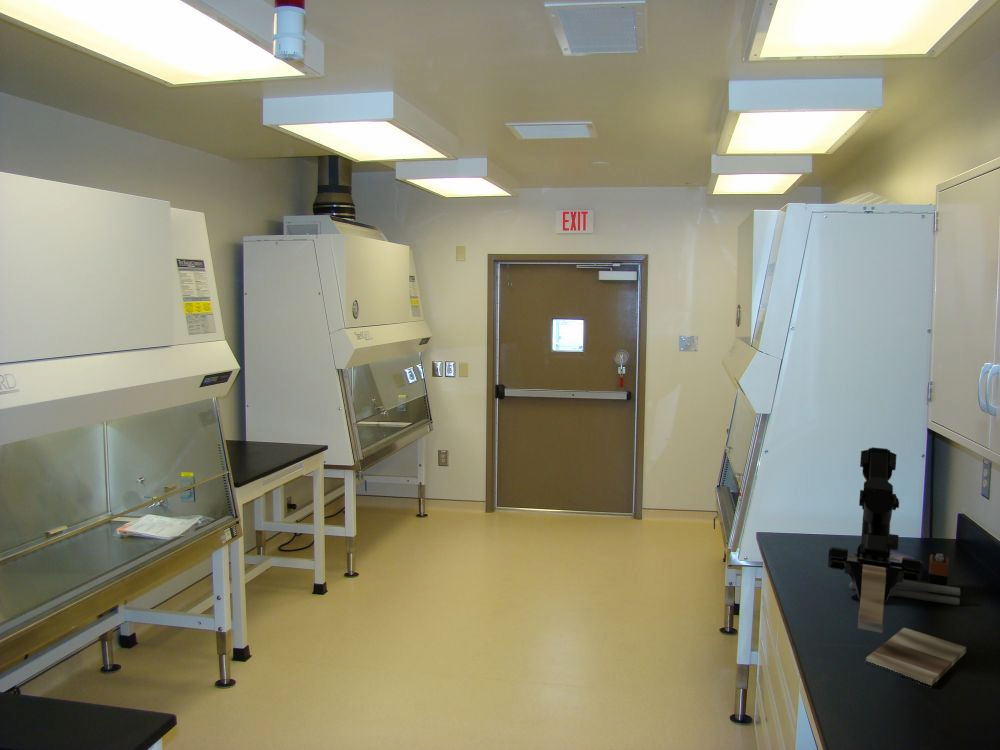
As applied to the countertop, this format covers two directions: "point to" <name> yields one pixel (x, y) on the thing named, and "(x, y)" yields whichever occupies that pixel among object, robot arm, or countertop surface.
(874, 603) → the tall wooden post
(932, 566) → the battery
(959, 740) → the countertop surface
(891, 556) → the tape roll
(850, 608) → the countertop surface
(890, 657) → the subfloor panel
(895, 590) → the metal rod assembly
